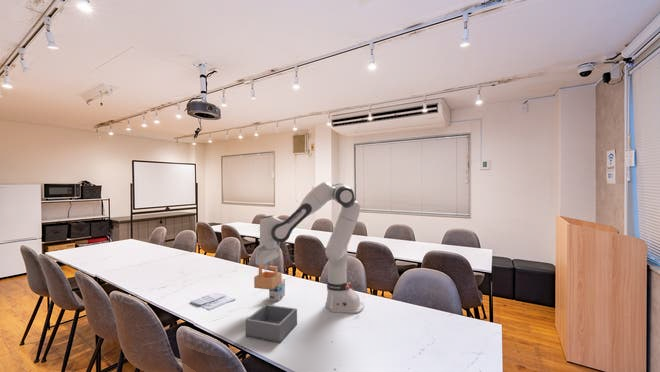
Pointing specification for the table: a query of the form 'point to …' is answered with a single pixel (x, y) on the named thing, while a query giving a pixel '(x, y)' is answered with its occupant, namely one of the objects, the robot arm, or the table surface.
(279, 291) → the light bulb box
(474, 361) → the table surface
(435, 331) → the table surface
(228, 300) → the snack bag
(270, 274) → the small crate
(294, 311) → the box
